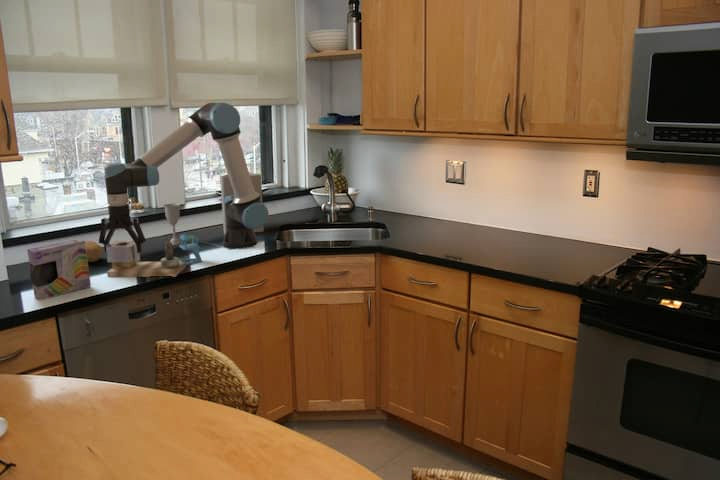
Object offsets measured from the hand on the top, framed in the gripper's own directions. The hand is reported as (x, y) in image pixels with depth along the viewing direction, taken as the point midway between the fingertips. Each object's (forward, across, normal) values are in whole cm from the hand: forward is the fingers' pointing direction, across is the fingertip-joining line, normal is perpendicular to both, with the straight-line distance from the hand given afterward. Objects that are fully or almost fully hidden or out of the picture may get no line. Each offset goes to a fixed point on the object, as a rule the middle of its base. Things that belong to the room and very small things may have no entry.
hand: (124, 260), depth 243 cm
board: (+4, +9, 0) cm, 10 cm away
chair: (+5, +22, +13) cm, 26 cm away
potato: (+5, -20, +14) cm, 25 cm away
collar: (-1, 0, 0) cm, 1 cm away
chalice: (+5, +5, +45) cm, 46 cm away
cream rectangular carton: (+5, +30, +72) cm, 78 cm away
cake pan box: (+5, -12, -26) cm, 29 cm away
